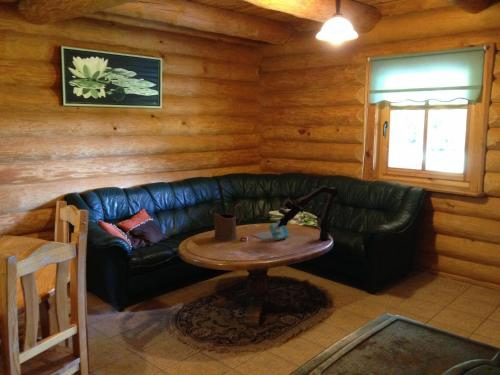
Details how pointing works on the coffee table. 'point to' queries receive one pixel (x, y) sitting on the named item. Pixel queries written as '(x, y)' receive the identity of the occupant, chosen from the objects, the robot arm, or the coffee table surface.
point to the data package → (278, 231)
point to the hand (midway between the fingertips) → (277, 226)
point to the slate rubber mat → (265, 236)
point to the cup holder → (226, 226)
